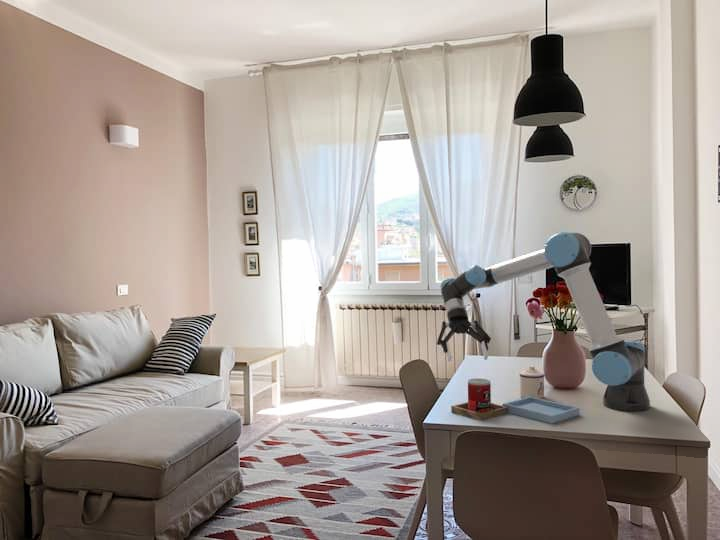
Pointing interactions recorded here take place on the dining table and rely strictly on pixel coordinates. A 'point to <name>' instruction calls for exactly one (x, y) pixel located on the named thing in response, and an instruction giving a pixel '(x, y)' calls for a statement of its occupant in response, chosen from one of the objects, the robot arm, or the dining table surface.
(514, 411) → the slate-blue tray
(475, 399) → the canned food
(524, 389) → the teacup with lid
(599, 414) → the dining table surface
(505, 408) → the frame
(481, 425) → the dining table surface
